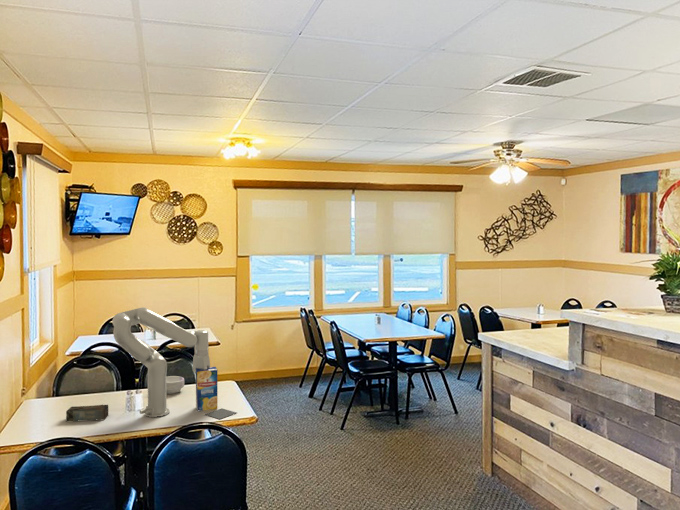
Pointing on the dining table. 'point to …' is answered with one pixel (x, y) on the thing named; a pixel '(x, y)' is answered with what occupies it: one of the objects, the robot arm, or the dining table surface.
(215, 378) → the blue rectangular box
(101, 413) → the dark grey rectangular block
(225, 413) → the rubber mat
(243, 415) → the dining table surface
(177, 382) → the paper bowls
